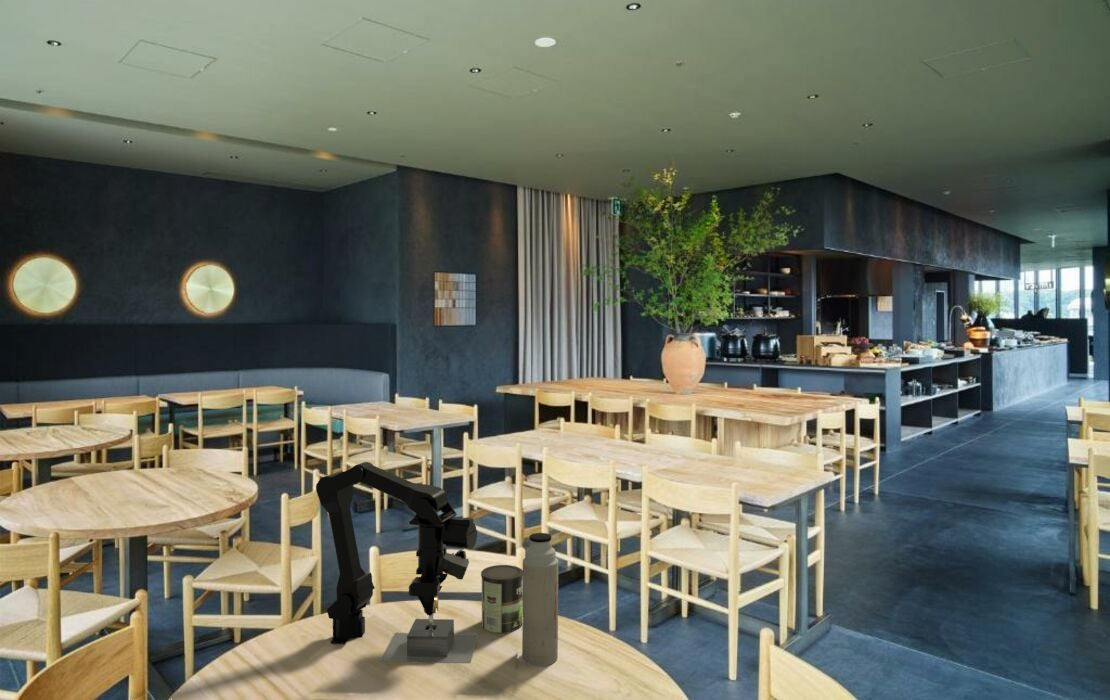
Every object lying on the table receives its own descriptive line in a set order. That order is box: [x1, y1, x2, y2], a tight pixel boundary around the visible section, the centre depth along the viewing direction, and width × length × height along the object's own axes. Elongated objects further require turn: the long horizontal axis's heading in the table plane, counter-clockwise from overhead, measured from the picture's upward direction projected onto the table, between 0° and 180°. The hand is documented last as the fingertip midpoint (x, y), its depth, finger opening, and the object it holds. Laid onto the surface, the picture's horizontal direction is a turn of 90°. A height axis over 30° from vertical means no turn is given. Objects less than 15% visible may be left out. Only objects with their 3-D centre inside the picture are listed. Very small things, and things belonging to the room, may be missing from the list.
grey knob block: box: [407, 618, 455, 657], centre depth 164 cm, size 9×9×5 cm
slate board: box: [379, 632, 479, 664], centre depth 164 cm, size 20×14×1 cm
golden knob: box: [423, 596, 439, 630], centre depth 163 cm, size 4×4×8 cm
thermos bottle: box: [521, 532, 559, 667], centre depth 161 cm, size 8×8×28 cm
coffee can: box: [480, 564, 523, 634], centre depth 176 cm, size 10×10×14 cm
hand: (430, 611), depth 163 cm, fingers closed on golden knob, 3 cm apart
